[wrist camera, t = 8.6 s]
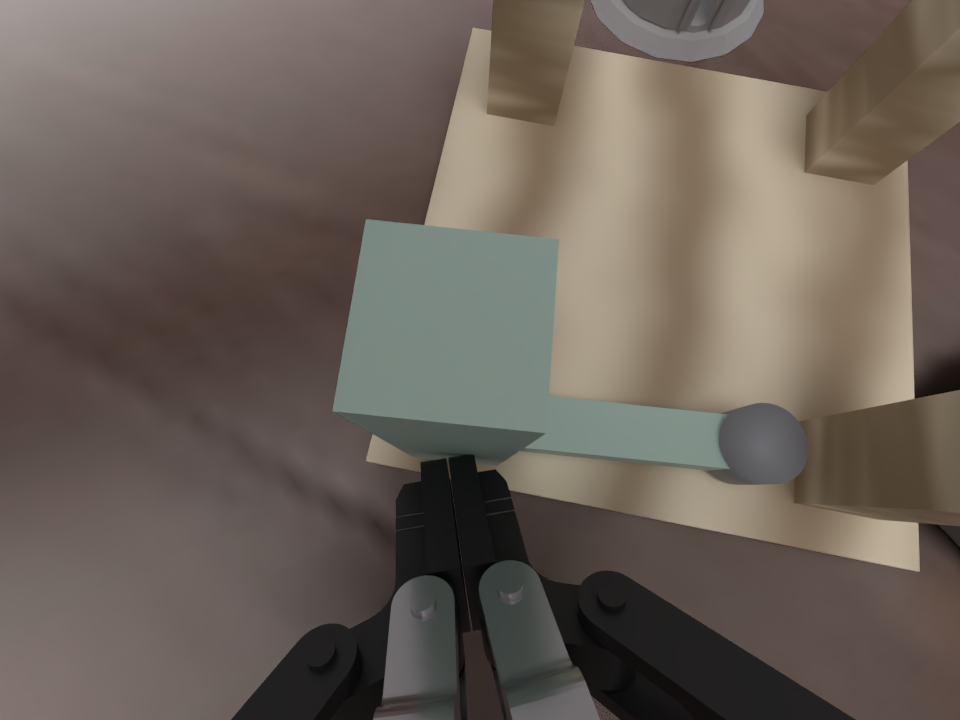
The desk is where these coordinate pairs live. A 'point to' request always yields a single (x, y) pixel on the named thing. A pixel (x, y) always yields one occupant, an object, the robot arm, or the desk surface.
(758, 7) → the french press
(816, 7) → the desk surface
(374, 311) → the hinged leg
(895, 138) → the stool seat
